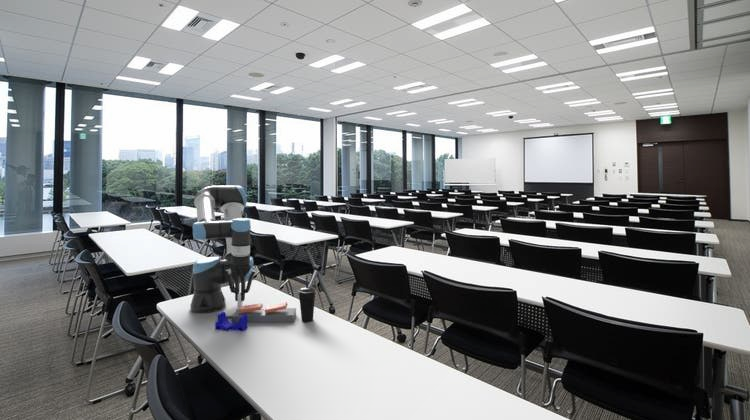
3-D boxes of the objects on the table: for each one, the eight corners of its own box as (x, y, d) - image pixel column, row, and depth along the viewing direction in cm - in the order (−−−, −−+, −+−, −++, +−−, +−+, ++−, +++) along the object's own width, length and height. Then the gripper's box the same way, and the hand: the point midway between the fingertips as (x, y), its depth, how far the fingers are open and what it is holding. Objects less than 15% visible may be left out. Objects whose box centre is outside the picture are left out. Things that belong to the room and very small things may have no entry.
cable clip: (215, 329, 147) (214, 315, 147) (222, 325, 152) (222, 311, 151) (240, 333, 144) (240, 319, 143) (247, 328, 148) (247, 314, 148)
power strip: (219, 324, 152) (218, 316, 152) (225, 316, 160) (225, 309, 160) (293, 322, 154) (293, 315, 154) (296, 314, 162) (295, 307, 162)
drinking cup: (318, 317, 160) (317, 273, 158) (313, 324, 153) (313, 278, 151) (301, 316, 161) (300, 272, 159) (296, 323, 154) (295, 277, 151)
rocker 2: (265, 313, 155) (264, 310, 155) (267, 309, 159) (266, 306, 159) (285, 308, 155) (285, 305, 155) (287, 305, 160) (286, 301, 160)
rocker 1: (239, 313, 154) (238, 309, 154) (242, 309, 158) (241, 305, 158) (260, 310, 155) (259, 306, 154) (262, 306, 159) (262, 303, 159)
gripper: (222, 256, 149) (221, 311, 152) (253, 257, 150) (252, 311, 153) (228, 252, 157) (227, 304, 159) (258, 253, 158) (257, 305, 160)
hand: (239, 308), depth 156 cm, fingers closed
